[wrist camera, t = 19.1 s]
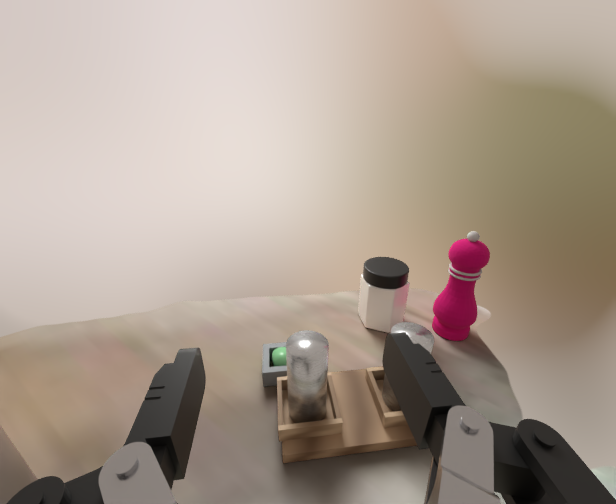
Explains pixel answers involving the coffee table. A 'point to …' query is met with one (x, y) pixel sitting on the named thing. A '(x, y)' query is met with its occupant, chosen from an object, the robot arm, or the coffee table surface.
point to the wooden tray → (344, 419)
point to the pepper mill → (460, 289)
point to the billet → (307, 376)
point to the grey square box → (271, 372)
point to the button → (279, 357)
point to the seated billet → (417, 336)
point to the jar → (383, 293)
